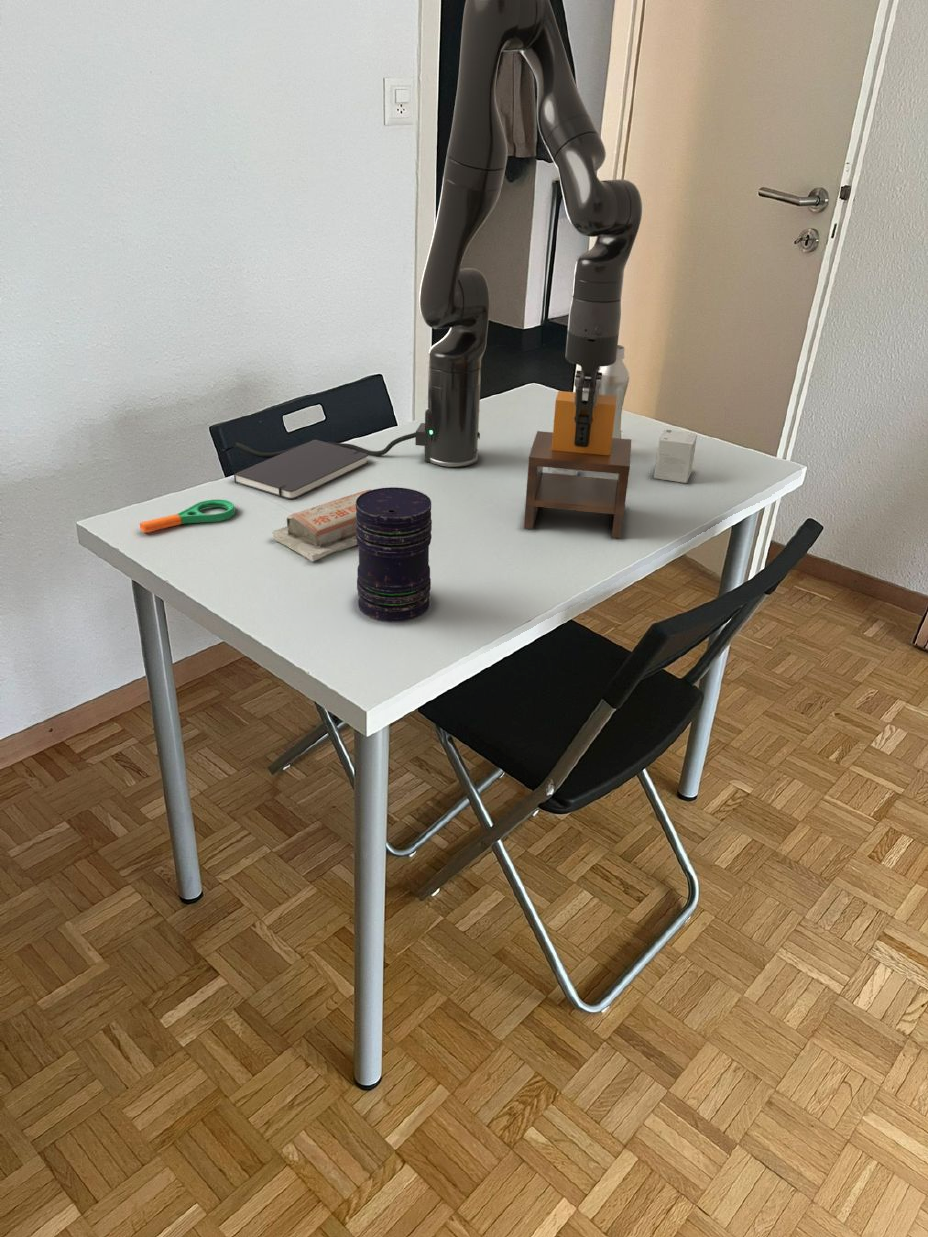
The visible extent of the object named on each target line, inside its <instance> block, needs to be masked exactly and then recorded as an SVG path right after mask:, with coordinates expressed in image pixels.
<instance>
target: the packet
mask: <svg viewBox="0 0 928 1237" xmlns="http://www.w3.org/2000/svg"><path fill="white" fill-rule="evenodd" d="M594 396H595V395H594ZM574 399H575V391H563V390H558V391H557V395H556V398H555V405H554V414H553V415H554V417H553V427H552V428H553V429H552V432H553V439H552V450H554V451H565V452H576V453H587V454H597V455H608V456H610V452H611V443H612V435H613V426H614V417H615V409H616V400H617V396H612V395H600V394H599V395H598V401H597V406H596V407H595V408H594V409H593V415H592V418H593V422H592V424H591V428H590V438H589V445H588V446H587V447H578V446H575V444H574V441H575V430H576V423H575V420H574V417H575V415H576V406H575V405H574ZM580 414H582V415H589V411H586V410H580Z"/></svg>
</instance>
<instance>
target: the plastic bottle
mask: <svg viewBox="0 0 928 1237" xmlns="http://www.w3.org/2000/svg"><path fill="white" fill-rule="evenodd" d="M625 351H626V350H625V346H624V345H621V344H618V347H617V355H616V361H615V362H614V363H613V364H612V365H609V366H605V367H603V366H600V369H599V370H598V372H603V373H602V382H601V387H600V389H599V394H600V395H612V396H617V400H616V409H615V417H614V426H613V435H612V438H620V439H622V413H623V406H624V402H625V397H626V394H627V390H628V386H629V383H630V372H629V370H628V368H627V366H626V364H625V362H623V360H624V359H625Z"/></svg>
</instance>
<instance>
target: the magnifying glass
mask: <svg viewBox="0 0 928 1237" xmlns="http://www.w3.org/2000/svg"><path fill="white" fill-rule="evenodd" d="M208 508H223V509H226V511H223V512H220V513H219V512H218V513H212V514H211V513H203V512H201V510H204V509H208ZM234 515H235V504H234V503H233V502H232V501H230V500H226V499H218V498H217V499H206V500H202V501H199V502H196V503H195V504H193V505H191V506H189V507H188V508H186V509H184V510H182V511H181V512H178V513H176V514H171V515H168V516H162V517H159V518H155V519H150V520H146V521H141V522H140V523H139V528H140V530H141V531H142V532H143V533H145V534H146V533H150V532H153V531H158V530H162V529H166V528H170V527H175V526H179V525H184V524H196V523H213V522H214V523H215V522H220V521H221V522H222V521H225V520H229V519H230V518H232V517H233V516H234Z"/></svg>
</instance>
